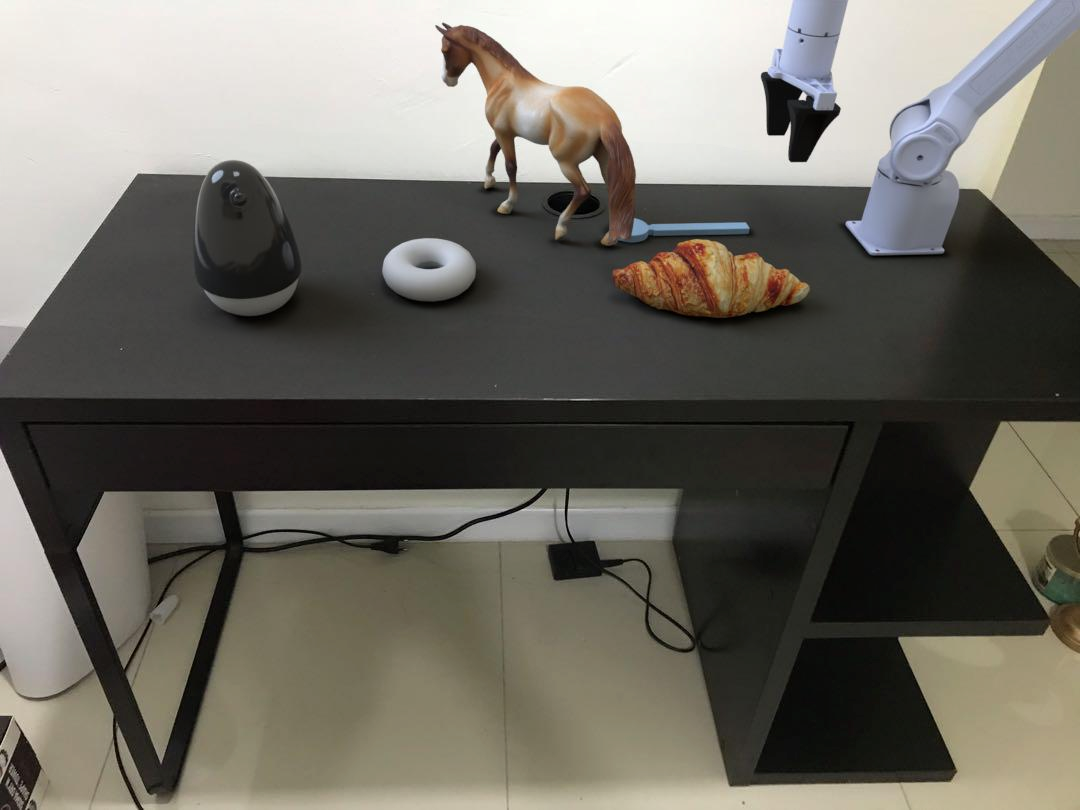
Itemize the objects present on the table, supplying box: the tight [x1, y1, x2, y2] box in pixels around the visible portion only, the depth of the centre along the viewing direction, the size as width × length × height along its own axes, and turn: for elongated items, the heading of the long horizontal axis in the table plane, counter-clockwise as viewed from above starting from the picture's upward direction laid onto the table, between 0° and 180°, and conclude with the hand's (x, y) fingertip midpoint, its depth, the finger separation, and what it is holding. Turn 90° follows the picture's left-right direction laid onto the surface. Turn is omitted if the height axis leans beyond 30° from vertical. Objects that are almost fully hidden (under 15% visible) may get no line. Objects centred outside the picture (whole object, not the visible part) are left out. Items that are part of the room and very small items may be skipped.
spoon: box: [618, 217, 751, 244], centre depth 110 cm, size 17×5×1 cm, turn 98°
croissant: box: [612, 238, 811, 319], centre depth 96 cm, size 21×10×8 cm, turn 92°
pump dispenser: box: [192, 159, 303, 317], centre depth 89 cm, size 10×10×15 cm
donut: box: [381, 237, 477, 302], centre depth 97 cm, size 10×3×10 cm
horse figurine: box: [434, 22, 637, 247], centre depth 103 cm, size 31×8×21 cm, turn 45°
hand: (786, 147), depth 108 cm, fingers open, 7 cm apart
